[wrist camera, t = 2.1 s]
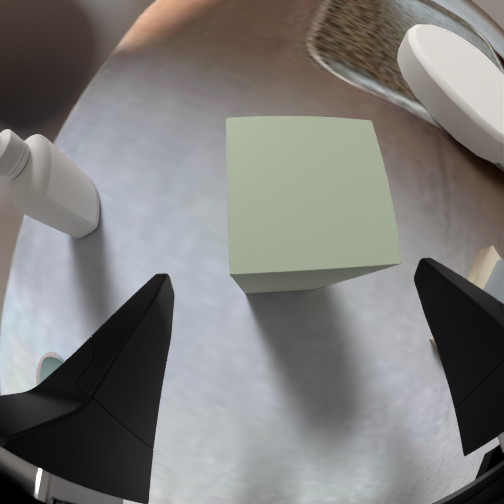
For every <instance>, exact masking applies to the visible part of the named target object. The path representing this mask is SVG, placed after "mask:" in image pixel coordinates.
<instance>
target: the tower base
mask: <svg viewBox="0 0 504 504" xmlns="http://www.w3.org/2000/svg"><path fill="white" fill-rule="evenodd" d="M497 260H501V258H500V256H499V255H498V253H497V251H496V250H495V248H494V247H493V246H490V247H486V248H483V249H480V252H479V254H478V256H477V258H476V260H475V262H474V264H473V266H472V268H471V270H470V272H469V274H468V276H467V278H466V279H467V280H468V281H470V282H471V283H473V284H475V285H476V286H478V287H479V288H481V289H482V290H483V288H484V287H485V285H486V283H487V281H488V279H489V277H490V275H491V273H492V271H493V269H494V267H495V265H496V263H497ZM430 340H431V342H432V343H433V344H434V345H435V346H436V344H435V341H434V338H433V336H431V337H430ZM436 348H437V347H436Z"/></svg>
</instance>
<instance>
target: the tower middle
mask: <svg viewBox="0 0 504 504" xmlns="http://www.w3.org/2000/svg"><path fill="white" fill-rule="evenodd" d="M483 290H484V291H485V292H487V293H488V294H490V295H491V296H493V297H494V298H496V299H497V300H498V301H500V302H502V303H503V304H504V259H501V260H497V263H496V265H495V267H494V269H493V271H492V273H491V275H490V277H489V279H488V281H487V283H486V285H485V287H484V288H483Z"/></svg>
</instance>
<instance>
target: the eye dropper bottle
mask: <svg viewBox="0 0 504 504" xmlns="http://www.w3.org/2000/svg"><path fill="white" fill-rule="evenodd" d="M0 175H1V176H3V177H4V178H6V179H8V182H9V188H10V191H11V195H12V198H13V200H14V202H15V204H16V206H17V207H18V209H19V210H20V211H21V212H23V213H24V214H26V215H28V216H29V217H31V218H33V219H35V220H37V221H40V222H42V223H44V224H46V225H48V226H50V227H52V228H55V229H57V230H59V231H61V232H64V233H66V234H68V235H71V236H73V237H75V238H81V237H83V236H85V235H87V234H89V233H91V232H92V231H94V230H95V229H96V228H97V226H98V222H99V212H100V206H99V197H98V193H97V190H96V187H95V185H94V183H93V181H92V179H91V178H90V177H89V176H88V175H87V174H86V173H85V172H84V171H83V170H82V169H81V168H80V167H78V166H77V165H76V164H75V163H74V162H73V161H71V160H70V159H69V158H68V157H67V156H66V155H65V154H63V153H62V152H61V151H60V150H59V149H58V148H57V147H56V146H54V145H53V144H52V143H51V142H50V141H49V140H47V139H46V138H45V137H44V136H42V135H39V134H36V135H33V136H31V137H29V138H28V139H26V140H25V141H23V140H22V139H21V138H19V137H18V136H17V135H16V134H15V133H13V132H12V131H11V130H10V129H9V130H8V129H7V130H4V131H2V132H1V133H0Z"/></svg>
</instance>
